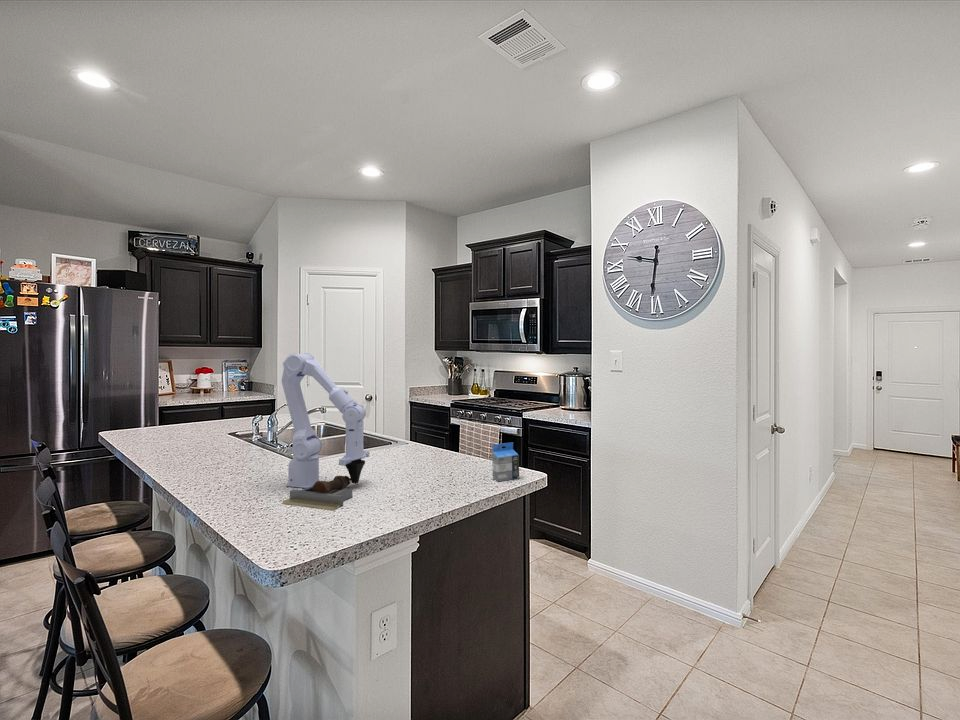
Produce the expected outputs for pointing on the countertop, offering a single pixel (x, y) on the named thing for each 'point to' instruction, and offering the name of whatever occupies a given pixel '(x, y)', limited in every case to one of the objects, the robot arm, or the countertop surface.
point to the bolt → (331, 484)
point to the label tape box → (505, 462)
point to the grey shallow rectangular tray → (318, 498)
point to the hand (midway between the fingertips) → (355, 482)
